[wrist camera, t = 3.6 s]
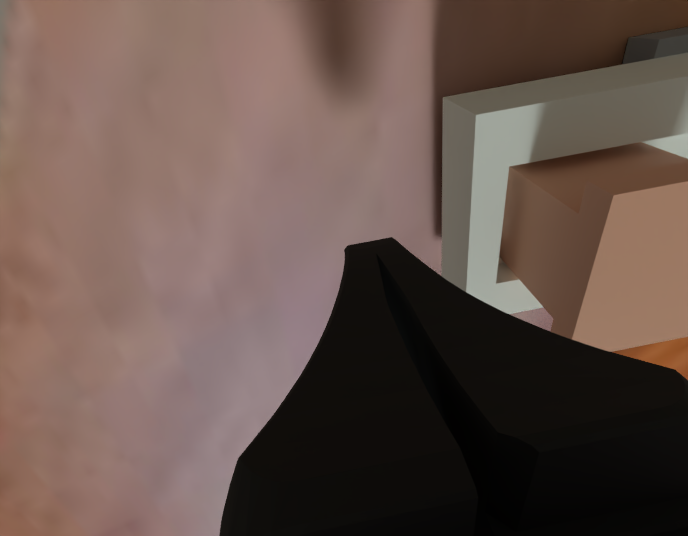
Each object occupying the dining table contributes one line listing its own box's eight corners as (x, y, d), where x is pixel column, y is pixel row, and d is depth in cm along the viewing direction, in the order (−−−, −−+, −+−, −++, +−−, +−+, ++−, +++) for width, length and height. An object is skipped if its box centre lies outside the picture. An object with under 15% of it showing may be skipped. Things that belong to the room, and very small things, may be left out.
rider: (649, 113, 11) (810, 158, 7) (606, 254, 13) (710, 331, 10) (512, 138, 11) (613, 195, 7) (497, 274, 13) (565, 360, 10)
